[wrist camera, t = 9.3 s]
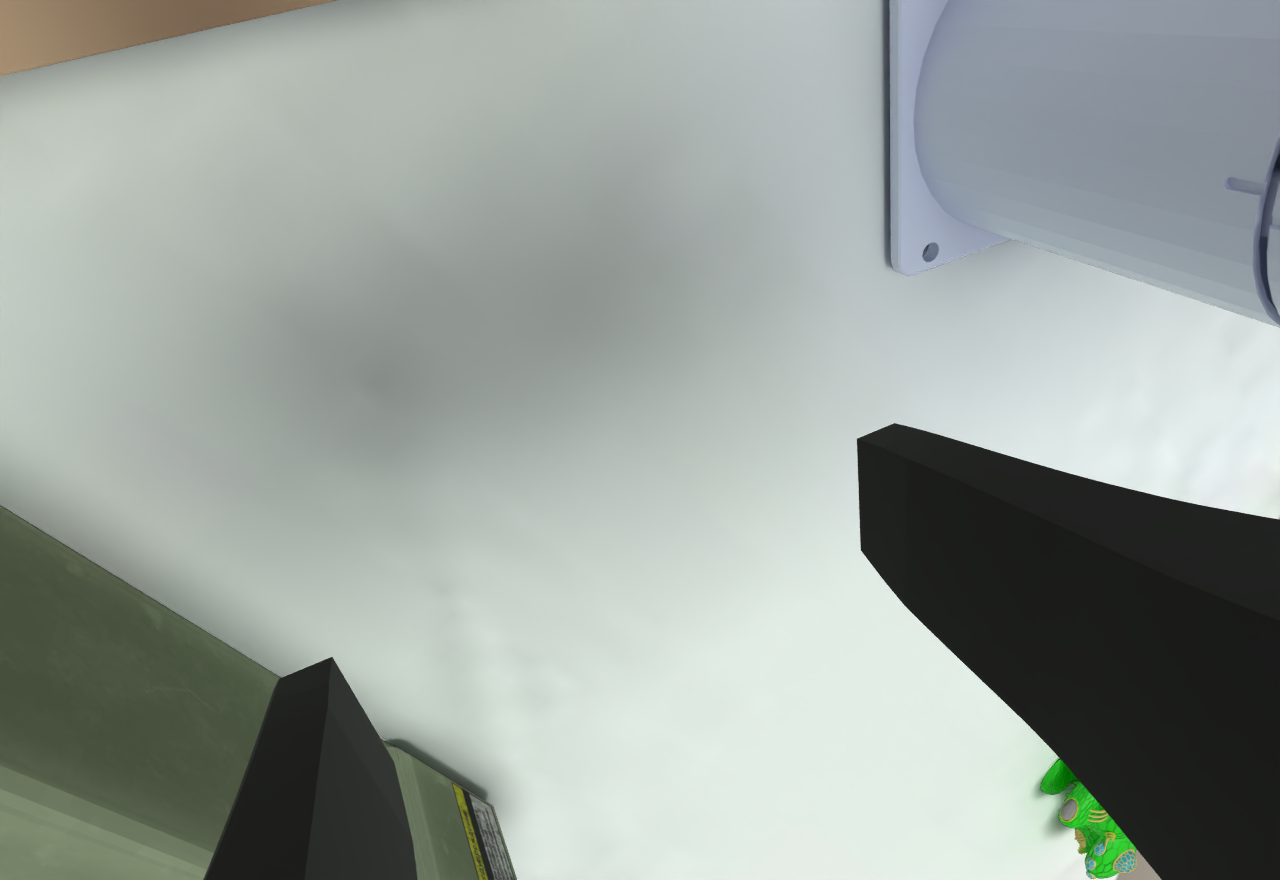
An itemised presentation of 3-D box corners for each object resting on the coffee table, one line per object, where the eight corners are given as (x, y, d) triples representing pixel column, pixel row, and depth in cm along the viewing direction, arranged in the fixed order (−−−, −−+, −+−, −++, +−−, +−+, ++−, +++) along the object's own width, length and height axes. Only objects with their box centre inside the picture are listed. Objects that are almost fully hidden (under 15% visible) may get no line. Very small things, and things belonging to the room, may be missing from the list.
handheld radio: (423, 858, 26) (-767, 259, 11) (502, 791, 26) (-559, 110, 11) (473, 1081, 20) (-1771, 501, 5) (572, 995, 20) (-1331, 202, 6)
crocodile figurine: (1014, 851, 44) (1077, 925, 40) (1072, 618, 34) (1162, 689, 31) (1104, 803, 46) (1172, 869, 42) (1183, 568, 36) (1280, 629, 33)
